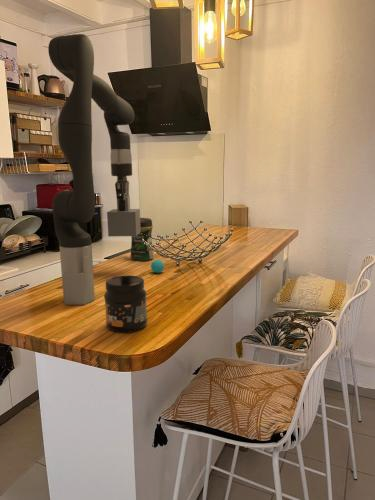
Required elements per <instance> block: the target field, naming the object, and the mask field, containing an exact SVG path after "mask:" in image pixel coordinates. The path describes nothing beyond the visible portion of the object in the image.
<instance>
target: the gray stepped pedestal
mask: <svg viewBox="0 0 375 500" xmlns="http://www.w3.org/2000/svg"><path fill="white" fill-rule="evenodd" d="M130 198H131V197H130V195H129V196H127V197H125V211H120V210H119V200H118V199H117V198H116V208H113V209H110V210H109V211H107V212H106V216H107V217H106V218H107V220H106V221H107V235H108V237H132V236H137V235H138V234H139V233H140V232H141V229H140V218H141V210H140V209H141V208H131V199H130Z"/></svg>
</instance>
